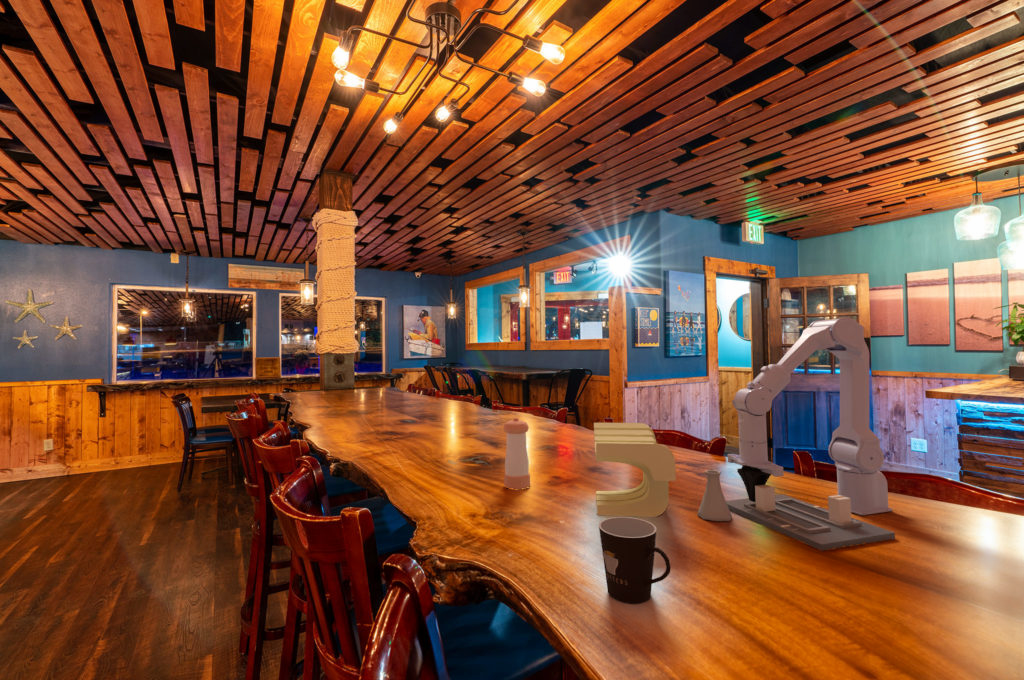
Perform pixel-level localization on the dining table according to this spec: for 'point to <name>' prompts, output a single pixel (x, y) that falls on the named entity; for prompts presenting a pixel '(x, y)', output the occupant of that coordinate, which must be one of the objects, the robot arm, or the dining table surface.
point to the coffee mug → (630, 558)
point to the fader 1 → (765, 497)
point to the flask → (714, 500)
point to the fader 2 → (839, 509)
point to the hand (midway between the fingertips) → (755, 500)
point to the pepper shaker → (516, 455)
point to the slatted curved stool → (640, 451)
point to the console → (809, 523)
